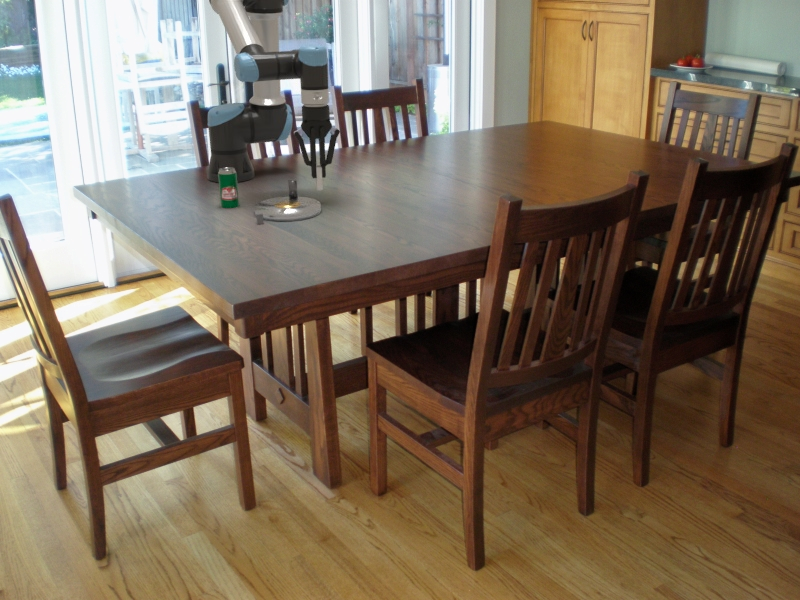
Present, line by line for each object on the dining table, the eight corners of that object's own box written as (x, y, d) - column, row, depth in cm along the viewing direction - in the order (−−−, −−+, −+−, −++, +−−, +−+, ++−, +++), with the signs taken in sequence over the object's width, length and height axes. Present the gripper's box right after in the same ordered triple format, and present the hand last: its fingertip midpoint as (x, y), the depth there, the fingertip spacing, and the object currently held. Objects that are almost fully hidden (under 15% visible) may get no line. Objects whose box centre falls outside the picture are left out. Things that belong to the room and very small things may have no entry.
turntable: (252, 206, 233) (250, 181, 230) (315, 201, 237) (314, 177, 234) (258, 223, 217) (256, 197, 214) (326, 218, 221) (325, 192, 218)
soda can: (222, 213, 231) (218, 171, 226) (220, 209, 235) (217, 167, 231) (240, 212, 232) (236, 170, 228) (238, 207, 237) (235, 166, 232)
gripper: (293, 107, 220) (298, 194, 229) (341, 105, 223) (344, 190, 232) (289, 103, 227) (294, 187, 236) (336, 101, 230) (339, 184, 239)
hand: (319, 189), depth 234 cm, fingers closed
